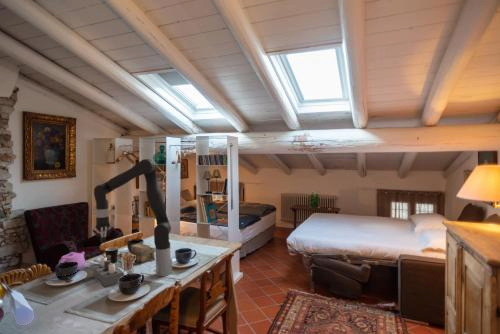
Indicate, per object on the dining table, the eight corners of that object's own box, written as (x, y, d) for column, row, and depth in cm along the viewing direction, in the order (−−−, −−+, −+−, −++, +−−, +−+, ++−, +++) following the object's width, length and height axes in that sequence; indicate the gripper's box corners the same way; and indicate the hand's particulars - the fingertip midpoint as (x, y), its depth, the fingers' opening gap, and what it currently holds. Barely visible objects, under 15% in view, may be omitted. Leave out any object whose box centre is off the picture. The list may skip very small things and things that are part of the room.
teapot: (68, 278, 191) (67, 258, 190) (52, 276, 194) (51, 256, 194) (92, 266, 210) (91, 248, 210) (77, 264, 214) (76, 247, 213)
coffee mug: (121, 261, 219) (120, 248, 219) (110, 265, 212) (109, 251, 211) (111, 258, 225) (110, 245, 225) (100, 262, 218) (99, 248, 217)
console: (111, 271, 202) (111, 262, 201) (123, 281, 185) (123, 272, 185) (93, 276, 194) (93, 266, 194) (104, 287, 178) (104, 277, 178)
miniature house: (142, 265, 212) (141, 249, 212) (128, 261, 220) (128, 246, 219) (158, 259, 225) (158, 243, 225) (145, 255, 232) (145, 240, 232)
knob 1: (106, 265, 198) (105, 256, 197) (107, 267, 195) (107, 257, 195) (100, 267, 195) (99, 257, 195) (101, 268, 193) (101, 259, 192)
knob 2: (114, 272, 187) (113, 262, 186) (116, 274, 184) (115, 264, 184) (107, 274, 184) (107, 264, 184) (109, 276, 181) (109, 265, 181)
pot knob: (109, 269, 192) (109, 259, 192) (111, 270, 189) (111, 260, 189) (103, 270, 190) (103, 260, 189) (105, 272, 187) (105, 262, 187)
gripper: (111, 213, 201) (112, 239, 201) (89, 216, 192) (90, 243, 193) (115, 215, 195) (116, 241, 196) (93, 218, 186) (93, 246, 187)
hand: (103, 242), depth 194 cm, fingers closed
